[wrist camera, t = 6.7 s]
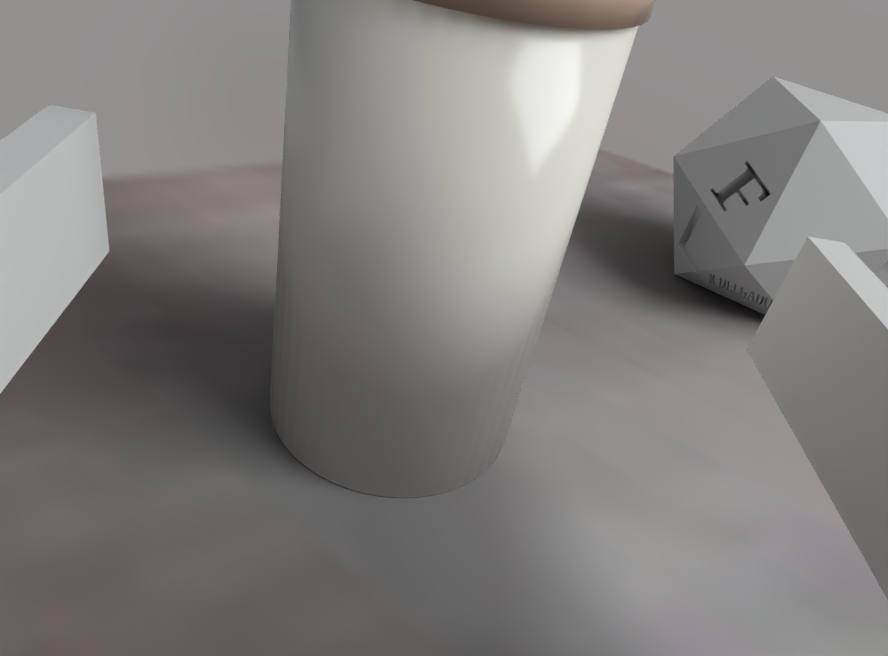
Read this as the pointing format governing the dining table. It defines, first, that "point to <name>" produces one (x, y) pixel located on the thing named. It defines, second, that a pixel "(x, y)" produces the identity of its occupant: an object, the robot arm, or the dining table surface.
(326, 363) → the jar
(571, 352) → the dining table surface
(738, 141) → the die
